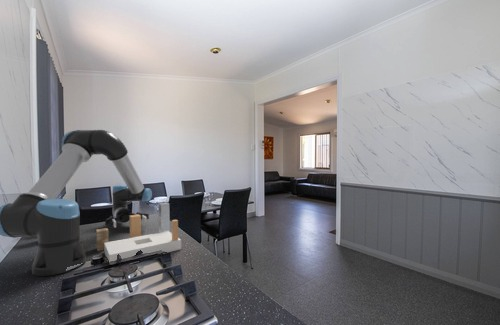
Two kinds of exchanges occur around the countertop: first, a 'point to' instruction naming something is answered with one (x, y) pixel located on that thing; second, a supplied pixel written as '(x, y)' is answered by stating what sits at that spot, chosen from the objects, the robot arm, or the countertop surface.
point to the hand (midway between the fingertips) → (131, 222)
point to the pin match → (135, 226)
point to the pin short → (101, 238)
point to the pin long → (164, 217)
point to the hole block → (144, 244)
